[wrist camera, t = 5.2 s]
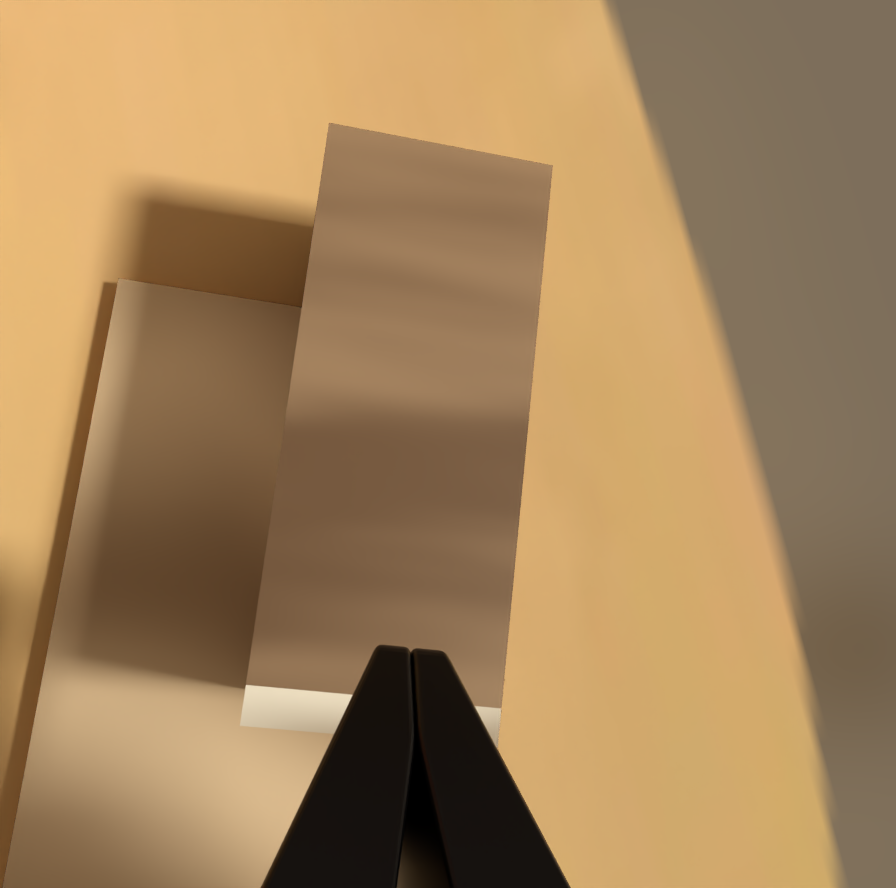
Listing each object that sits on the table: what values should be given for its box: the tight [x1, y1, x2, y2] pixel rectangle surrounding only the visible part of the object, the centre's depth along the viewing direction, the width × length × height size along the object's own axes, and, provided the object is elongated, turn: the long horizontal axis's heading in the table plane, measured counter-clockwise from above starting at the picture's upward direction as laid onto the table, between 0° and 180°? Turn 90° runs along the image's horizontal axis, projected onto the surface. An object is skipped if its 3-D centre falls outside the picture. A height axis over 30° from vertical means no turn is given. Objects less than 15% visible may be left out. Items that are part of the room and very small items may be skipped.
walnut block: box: [240, 123, 553, 748], centre depth 16 cm, size 4×4×10 cm
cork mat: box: [2, 278, 334, 888], centre depth 17 cm, size 14×8×1 cm, turn 174°
